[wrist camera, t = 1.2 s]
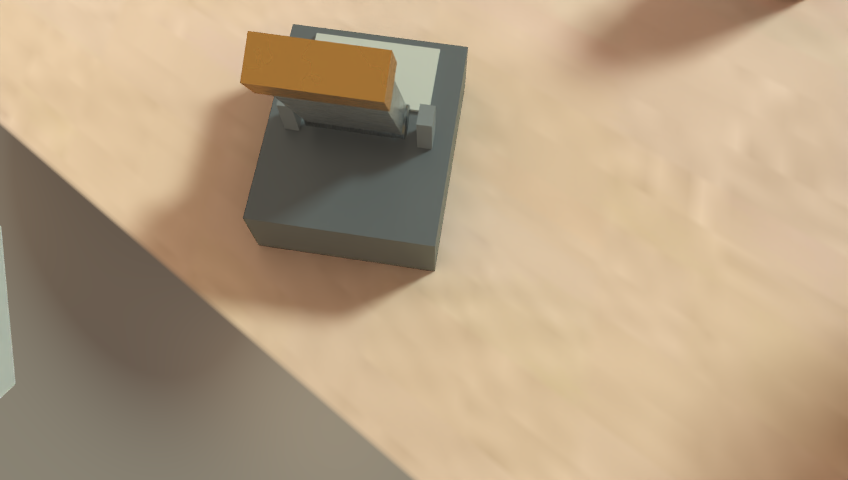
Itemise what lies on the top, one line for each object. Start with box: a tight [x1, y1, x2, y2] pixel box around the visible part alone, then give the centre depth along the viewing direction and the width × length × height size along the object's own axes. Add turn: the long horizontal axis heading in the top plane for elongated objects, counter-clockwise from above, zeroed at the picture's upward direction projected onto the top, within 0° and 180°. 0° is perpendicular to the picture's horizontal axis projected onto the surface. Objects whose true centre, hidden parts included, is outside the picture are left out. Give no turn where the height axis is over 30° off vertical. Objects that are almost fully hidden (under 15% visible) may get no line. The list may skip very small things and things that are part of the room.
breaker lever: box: [240, 31, 410, 139], centre depth 36 cm, size 2×6×12 cm, turn 82°
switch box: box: [243, 24, 468, 271], centre depth 43 cm, size 12×10×6 cm
